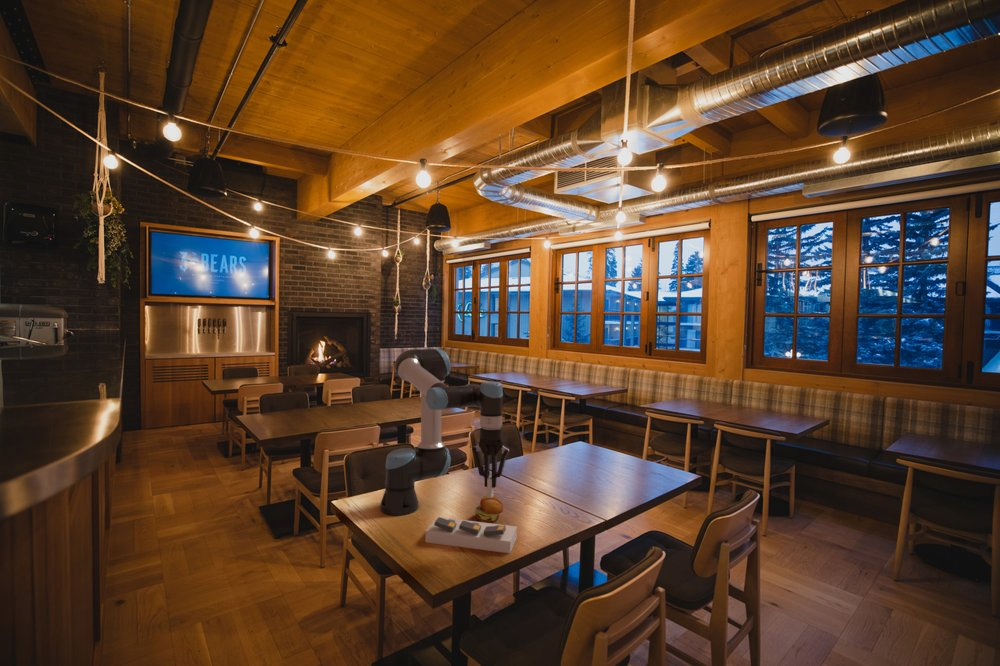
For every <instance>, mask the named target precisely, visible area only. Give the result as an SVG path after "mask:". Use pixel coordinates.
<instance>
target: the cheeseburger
mask: <svg viewBox="0 0 1000 666" xmlns="http://www.w3.org/2000/svg"><path fill="white" fill-rule="evenodd" d="M503 510H504V505H503V502H501V501H500V500H499V499H498V498H497V496H495V494H493V497H492V498H487V495H485V496H483V497H481V499H480V502H479V504H478V505H477V506H476V507H475V509H474V514H475V517H476V519H477V520H478V521H479V522H483V523H492V522H496V521H497V520H499V518H500V516H501V514H502V513H503Z"/></svg>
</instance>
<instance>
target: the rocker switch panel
mask: <svg viewBox="0 0 1000 666" xmlns="http://www.w3.org/2000/svg"><path fill="white" fill-rule="evenodd" d="M439 517H440V518H443V519H446V520H448V521H451V522H454V523H457V524H456V528H455V529H454V530H453V532H451V531H448V530H445V529H442V528H440V527H437V526H434V524H435V521H436V520H437V519H438V518H439ZM462 521H467V522H470V523H473V524H476V525H480V526H481V530H480V532H479V533H478V535H477V534H473V533H470V532H467V531H464V530H460V529H459V526H460V524H461V523H462ZM489 526H505V527H506V530H505V532H504V535H487V536H484V530H485V528H486V527H489ZM517 532H518V526H515V525H507V524H499V523H492V522H482V521H474V520H466V519H456V518H448V517H442V516H438V517H436V518H435V519H434V521H433V522H432V523H431V524H430V525H429V526H428V528H427V529H425V543H428V544H437V545H444V546H452V547H458V548H459V547H461V548H466V549H474V550H481V551H482V550H483V551H488V552H497V553H503V554H511V552H512V549H513V548H514V545H515V542H516V540H517V537H518V533H517Z"/></svg>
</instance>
